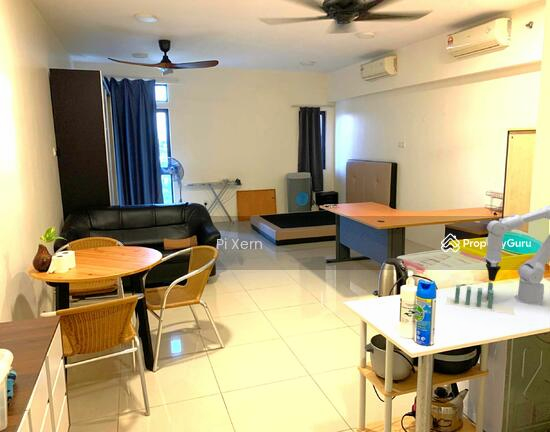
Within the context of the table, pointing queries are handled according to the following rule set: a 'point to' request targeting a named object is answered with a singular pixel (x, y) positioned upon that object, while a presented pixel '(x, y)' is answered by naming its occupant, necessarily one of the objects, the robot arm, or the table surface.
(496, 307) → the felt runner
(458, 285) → the tile
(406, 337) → the table surface
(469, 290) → the muted teal oblong block
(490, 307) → the tile
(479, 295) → the teal rectangular block
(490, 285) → the teal green rectangular block
